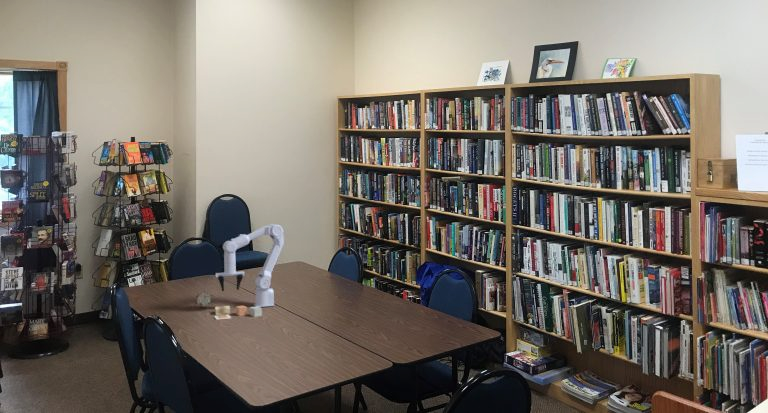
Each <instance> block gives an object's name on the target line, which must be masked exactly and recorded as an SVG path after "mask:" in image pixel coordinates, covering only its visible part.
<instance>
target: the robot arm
mask: <svg viewBox="0 0 768 413" xmlns="http://www.w3.org/2000/svg"><path fill="white" fill-rule="evenodd" d="M284 233H285V231H284V229H283V227H282V225H280V224H275V223H269V224H267V225H264V226H261V227H260V228H258V229H255V231H252V232H250V233H248V234H245V233H244V234H243V233H242V234H241V233H240V234H239V235H238V236H237V237H235V238H231V239H230V240H226V241H225V242H224V243H223V245H222V249H223V251H224V255H223V258H224V260H223V262H224V263H223V264H224V266H223V267H224V271H223V272H215V277H216V278H217V279H218V282H219V284H220V287H221V291H222V292H224V291H225V287H224V284H225V277H236V278H235V279H236V291H239V290H240V286H241V283H242V281H243V277H244V276H245V275H246V274H245V273H246V272H245V271H241V270H240V271H237V268H236V267H237V266H236V265H237V264H236V262H237V261H236V251H237V250H238V249H240V248H243V247H245V246H248V244H250V241H252V240H255V239H257V238H259V237H262V236H264V235H265V236H269V237H270V238H271V240H272V245H271V248H270V251H269V252H268V255H267V257H266V260H265V261H264V264H263V267H262V269H261V270H260V271H259V272H258V274H257V276H255V278H254V280H253V284H254V286H256V287H255V288H254V289H255V290H254V291H255V303H253V306H254V307H256V306H257V307H261V308H262V307H263V308H265V307H274V306H275V294H274V293H275V292H274V289H273V288H270V286H271V281H272V280H271V279H272V273H273V271H274V270H273V269H274V267H275V265H276V263H277V261H278V258H279V256H280V254H281V251H282V249H283V247H284V244H285V236H284Z"/></svg>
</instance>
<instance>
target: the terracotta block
mask: <svg viewBox="0 0 768 413" xmlns="http://www.w3.org/2000/svg"><path fill="white" fill-rule="evenodd" d="M235 314H236V315H237V316H239V317H241V316H247V315H248V307H247V306H245V305H235Z"/></svg>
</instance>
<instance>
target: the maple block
mask: <svg viewBox="0 0 768 413" xmlns="http://www.w3.org/2000/svg"><path fill="white" fill-rule="evenodd" d="M214 310H215V311H214V312H215V316H219V315H230V314H231V306H230V305H221V306H220V305H219V306H215V307H214Z"/></svg>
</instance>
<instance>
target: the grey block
mask: <svg viewBox="0 0 768 413" xmlns="http://www.w3.org/2000/svg"><path fill="white" fill-rule="evenodd" d="M262 309H263V308H262V307H257V306H250V307H249V316H252V317H254V318H256V317H261V316H263V310H262Z"/></svg>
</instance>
